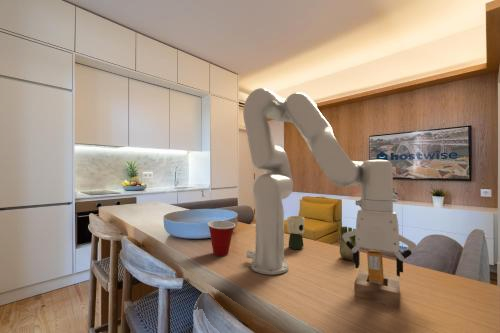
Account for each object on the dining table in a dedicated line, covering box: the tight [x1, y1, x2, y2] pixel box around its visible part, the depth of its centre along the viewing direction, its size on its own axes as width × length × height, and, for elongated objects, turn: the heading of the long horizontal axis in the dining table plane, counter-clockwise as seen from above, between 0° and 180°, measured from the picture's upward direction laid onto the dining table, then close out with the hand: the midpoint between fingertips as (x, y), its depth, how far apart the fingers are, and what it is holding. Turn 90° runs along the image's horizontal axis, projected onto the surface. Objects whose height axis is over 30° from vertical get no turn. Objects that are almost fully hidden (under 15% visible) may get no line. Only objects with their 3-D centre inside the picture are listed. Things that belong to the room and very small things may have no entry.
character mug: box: [287, 215, 306, 250], centre depth 102 cm, size 11×7×13 cm, turn 150°
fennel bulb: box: [339, 226, 356, 261], centre depth 89 cm, size 6×5×12 cm
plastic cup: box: [207, 220, 236, 257], centre depth 93 cm, size 11×11×12 cm
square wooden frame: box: [353, 269, 401, 309], centre depth 64 cm, size 10×10×4 cm
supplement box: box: [366, 249, 384, 285], centre depth 64 cm, size 3×3×10 cm
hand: (377, 270), depth 64 cm, fingers open, 9 cm apart
